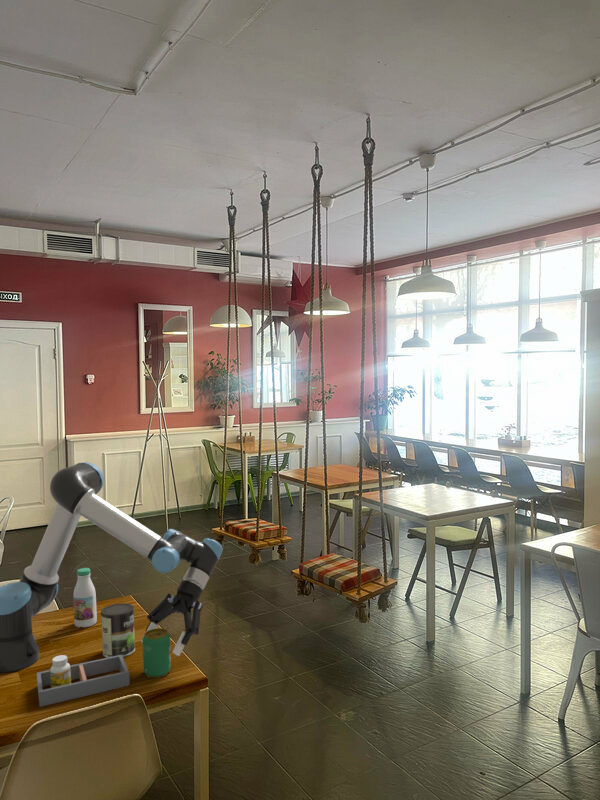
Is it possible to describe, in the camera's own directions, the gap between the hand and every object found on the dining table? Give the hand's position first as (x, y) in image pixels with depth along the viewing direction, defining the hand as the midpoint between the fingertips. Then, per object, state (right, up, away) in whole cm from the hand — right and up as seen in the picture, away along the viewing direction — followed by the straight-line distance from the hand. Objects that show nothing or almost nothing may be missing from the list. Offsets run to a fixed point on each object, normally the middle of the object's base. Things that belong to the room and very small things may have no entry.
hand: (159, 649), depth 184 cm
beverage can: (-1, -7, 0) cm, 7 cm away
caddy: (-20, -8, -7) cm, 23 cm away
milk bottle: (-35, -6, +38) cm, 52 cm away
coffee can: (-17, -7, +15) cm, 23 cm away
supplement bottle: (-26, -8, -10) cm, 29 cm away
